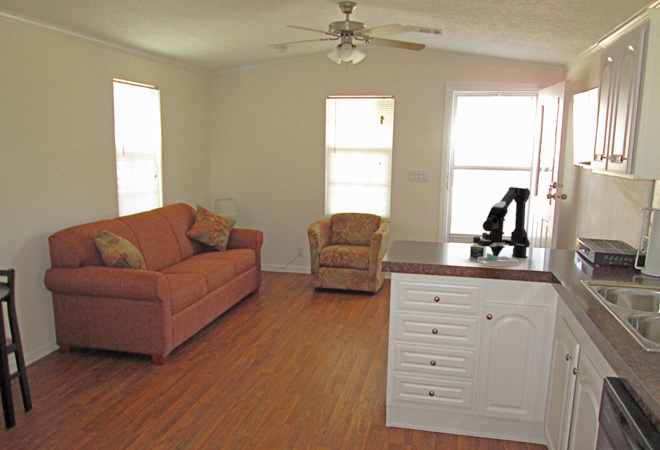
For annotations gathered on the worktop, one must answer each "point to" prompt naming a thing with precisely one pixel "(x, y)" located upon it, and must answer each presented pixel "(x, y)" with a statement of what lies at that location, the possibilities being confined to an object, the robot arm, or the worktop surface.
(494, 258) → the pusher
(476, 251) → the medicine bottle
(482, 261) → the lane
